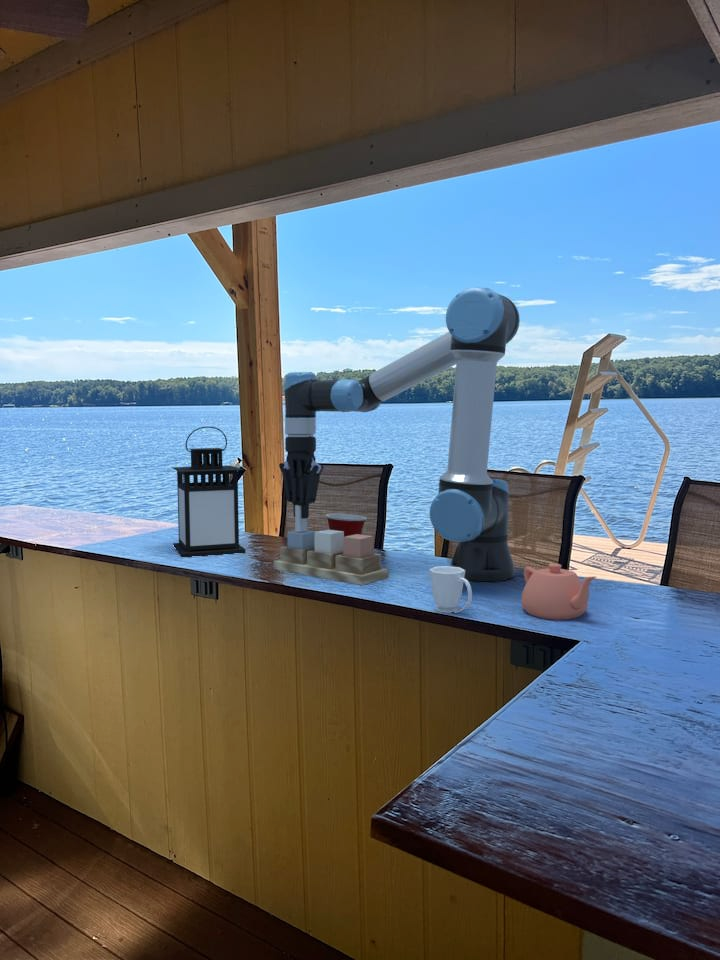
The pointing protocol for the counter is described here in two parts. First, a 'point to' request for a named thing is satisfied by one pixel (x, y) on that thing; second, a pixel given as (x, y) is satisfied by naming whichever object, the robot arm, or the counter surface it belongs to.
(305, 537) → the slate key
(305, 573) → the beige slotted block
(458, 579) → the cup
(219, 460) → the lantern
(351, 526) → the plastic cup
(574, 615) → the teapot
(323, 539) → the ivory key
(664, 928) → the counter surface
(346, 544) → the terracotta key
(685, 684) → the counter surface
